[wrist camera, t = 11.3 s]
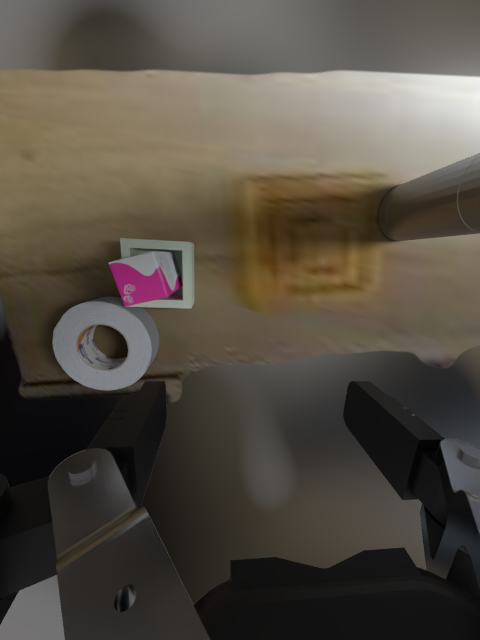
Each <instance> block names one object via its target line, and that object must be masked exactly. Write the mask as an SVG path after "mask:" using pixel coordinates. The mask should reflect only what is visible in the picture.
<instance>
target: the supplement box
mask: <svg viewBox="0 0 480 640" xmlns="http://www.w3.org/2000/svg"><path fill="white" fill-rule="evenodd" d="M108 264H109V267H110V269H111V272H112V275H113V277H114V280H115V282H116V285H117V288H118V290H119V293H120V296H121V298H122V301H123V304H124V306H125V307H126V306H131V305H135V304H139V303H144V302H148V301H153V300H157V299H162V298H166V297H168V296H170V295H171V294H172V293H174V292H175V291H176V290H177V289H179V288H180V287H181V286H183V283H182V279H181V276H180V272H179V269H178V266H177V262H176V259H175V256H174V253H173V252H160V251H151V252H146V253H142V254H138V255H135V256H131V257H127V258H123V259H119V260H116V261H112V262H108Z"/></svg>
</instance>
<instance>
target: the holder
mask: <svg viewBox="0 0 480 640" xmlns="http://www.w3.org/2000/svg"><path fill="white" fill-rule="evenodd" d="M120 245H121V258H122V259H123V258H127V257H131V256H135V255H138V254H142V253H146V252H151V251H160V252H173V253H174V256H175V259H176V262H177V266H178V269H179V272H180V276H181V279H182V283H183V286H181V287H180V288H179V289H177V290H176V291H175V292H174V293H172V294H171V295H170V296H168V297H166V298H162V299H157V300H153V301H148V302H144V303H139V304H135V305H131V306H126V307H157V308H192V306H193V304H194V244H193V243H192V242H182V241H164V240H146V239H128V238H120Z"/></svg>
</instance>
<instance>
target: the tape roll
mask: <svg viewBox="0 0 480 640" xmlns="http://www.w3.org/2000/svg"><path fill="white" fill-rule="evenodd" d="M97 325H106V326H110V327H112V328H114V329H116V330H117V331H119V332H120V333H121V334H122V335H123V337H124V338H125V340H126V342H127V346H128V354H127V357H124V358H111V357H108V356H106V355H104V354H103V353H101V352H100V351H99V350H98V348H97V347H96V345H95V343H94V339H93V333H94V330H95V328H96V326H97ZM52 343H53V350H54V354H55V357H56V359H57V361H58V363H59V364H60V365H61V367H62V368H63V370H64V371H65V372H66V373H67V374H68V375H69V376H70V377H71V378H72V379H74V380H75V381H77V382H79V383H80V384H82V385H84V386H87V387H90V388H94V389H98V390H116V389H120V388H124V387H127V386H129V385H132V384H133V383H135V382H136V381H137V380H139V379H140V378H141V377H142V375H143V374H144V373H145V372H146V370H147V369H148V367H149V366H150V365H151V363H152V362H153V360H154V358H155V357H156V354H157V352H158V348H159V333H158V330H157V327H156V324H155V322H154V321H153V319H152V318H151V316H150V315H149V314H148V313H147V312H146V311H145V310H144V309H143V308H142V307H125V306H124V304H123V301H122V298H120V297H100V298H97V299H93V300H90V301H87V302H84V303H80V304H78V305H76V306H73V307H72V308H70V309H69V310H68V311H67V312H66V313H64V314H63V316H62V318H61V319H60V321H59V322H58V324H57V326H56V327H55V328H54V333H53V341H52Z"/></svg>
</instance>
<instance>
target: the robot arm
mask: <svg viewBox="0 0 480 640" xmlns="http://www.w3.org/2000/svg"><path fill="white" fill-rule="evenodd" d="M378 221H379V226H380V229H381V230H382V232H383V234H384V235H385V236H386V237H388V238H390V239H392V240H395V241H405V240H415V239H426V238H437V237H447V236H457V235H467V234H478V233H480V153H478V154H476V155H473V156H471V157H468V158H466V159H463V160H461V161H458V162H456V163H453V164H451V165H448V166H446V167H444V168H441V169H439V170H436V171H434V172H431V173H429V174H426V175H424V176H421V177H419V178H416V179H414V180H411V181H409V182H406V183H404V184H402V185H399V186H397V187H395V188H393V189H392V190H391V191H390V192H389V193H388V194H387V195H386V196H385V197H384V199H383V201H382V203H381V205H380V208H379V213H378ZM343 417H344V421H345V424H346V426H347V428H348V429H349V430H350V432H351V433H352V434H353V436H354V437H355V438H356V440H357V441H358V442H359V444H360V445H361V446H362V447H363V449H364V450H365V451H366V453H367V454H368V455H369V457H370V458H371V459H372V461H373V462H374V463H375V465H376V466H377V467H378V469H379V470H380V471H381V472H382V474H383V475H384V476H385V478H386V479H387V480H388V482H389V483H390V484H391V486H392V487H393V488H394V490H395V491H396V492H397V493H398V495H399V496H400V497H401V499H402V500H411V499H419V500H420V501H421V502H422V505H421V508H420V521H421V530H422V538H423V547H424V556H425V565H426V570H423V569H421V568H418V567H416V566H415V564H414V562H413V561H412V559H411V558H410V556H409V555H408V553H407V551H406V550H405V548H392V549H379V550H365V551H362V552H360V553H358V554H356V555H354V556H352V557H350V558H348V559H346V560H344V561H342V562H340V563H338V564H336V565H334V566H332V567H330V568H326V569H323V568H318V567H313V566H309V565H305V564H301V563H297V562H293V561H289V560H285V559H281V558H277V557H271V558H257V559H244V560H231V561H230V576H229V580H227V581H225V582H223V583H221V584H219V585H217V586H216V587H214V588H213V589H212V590H210V591H208V592H207V593H206V594H205V595H204V596H203V597H202V598H200V599H199V600H198V601H197V602H196V603H195V605H193V604H192V602H191V600H190V597H189V595H188V593H187V591H186V589H185V587H184V585H183V583H182V581H181V579H180V577H179V575H178V573H177V571H176V569H175V567H174V565H173V563H172V561H171V559H170V557H169V555H168V553H167V551H166V549H165V547H164V545H163V543H162V541H161V539H160V537H159V535H158V533H157V531H156V529H155V526H154V524H153V522H152V521H151V518H150V517H149V514H148V513H147V511H146V509H145V508H144V507H143V506H141V504H142V501H143V498H144V495H145V491H146V488H147V485H148V482H149V479H150V475H151V472H152V469H153V466H154V463H155V459H156V456H157V453H158V450H159V446H160V443H161V440H162V437H163V434H164V431H165V427H166V419H167V407H166V384H165V381H145V382H144V384H143V386H142V387H141V389H140V391H139V392H138V393H130V394H129V395H128V396H126V397H125V398H124V399H122V400H121V401H120V402H119V403H118V404H117V406H116V407H115V409H114V410H113V412H112V413H111V415H110V416H109V417H108V420H106V422H105V423H104V425H103V426H102V427H101V429H100V430H99V432H98V433H97V435H96V436H95V438H94V439H93V440H92V442H91V443H90V445H89V446H88V448H87V449H86V450H84V451H81V452H78V453H76V454H74V455H72V456H70V457H69V458H67V459H65V460H64V461H63V462H62V463H60V464H59V465H58V466H57V467H56V468H55V469H54V471H53V472H52V473H51V475H50V476H49V477H47V478H44V479H40V480H36V481H33V482H29V483H25V484H22V485H18V486H14V487H11V488H9V486H8V482H7V479H6V477H5V476H4V475H1V474H0V624H1V622H2V620H3V619H4V617H5V615H6V613H7V611H8V609H9V608H10V606H11V604H12V602H13V601H14V599H15V597H16V595H17V593H18V592H19V590H21V589H24V588H26V587H29V586H31V585H33V584H36V583H38V582H40V581H43V580H45V579H48V578H50V577H52V576H54V575H57V578H58V586H59V595H60V602H61V611H62V618H63V627H64V636H65V640H480V448H478V447H476V446H474V445H471V444H469V443H466V442H463V441H460V440H455V439H445V438H443V437H442V436H441V435H440V434H438V433H437V432H436V431H434V430H433V429H432V428H431V427H430V426H428V425H427V424H426V423H425V422H423V421H422V420H421V419H420V418H418V417H417V416H414V414H413V413H412V412H411V411H409V410H408V409H406V408H405V407H404V406H403V405H402V404H400V403H399V402H398V401H397V400H396V399H394V398H392V397H390V396H388V395H386V394H385V393H383V392H382V391H381V390H380V389H379V388H377V387H376V386H375V385H373V384H372V383H371V382H369V381H351V382H350V383H349V385H348V389H347V395H346V400H345V406H344V412H343Z"/></svg>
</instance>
